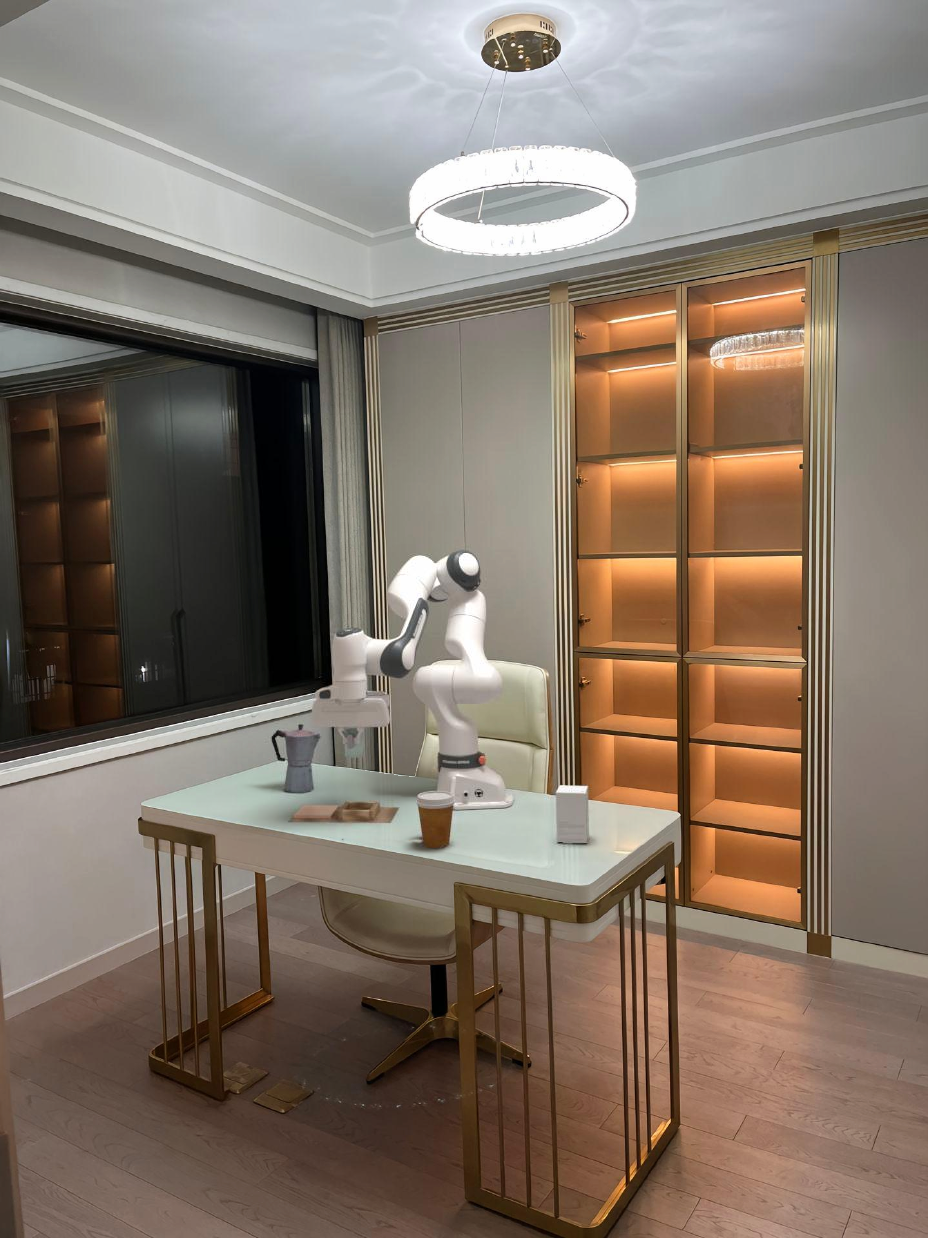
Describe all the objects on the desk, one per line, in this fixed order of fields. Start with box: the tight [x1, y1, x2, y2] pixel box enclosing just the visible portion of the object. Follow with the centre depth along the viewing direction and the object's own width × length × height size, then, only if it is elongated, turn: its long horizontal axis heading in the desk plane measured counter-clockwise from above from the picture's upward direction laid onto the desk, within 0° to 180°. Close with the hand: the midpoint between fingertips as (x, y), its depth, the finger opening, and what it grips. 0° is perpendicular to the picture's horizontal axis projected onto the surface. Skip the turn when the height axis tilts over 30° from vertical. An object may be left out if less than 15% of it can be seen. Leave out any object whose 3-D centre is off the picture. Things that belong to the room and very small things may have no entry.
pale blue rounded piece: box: [344, 727, 365, 759], centre depth 246 cm, size 8×5×8 cm, turn 175°
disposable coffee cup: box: [415, 790, 455, 849], centre depth 227 cm, size 10×10×12 cm
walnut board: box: [288, 801, 400, 824], centre depth 251 cm, size 27×15×4 cm, turn 85°
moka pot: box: [271, 723, 323, 794], centre depth 282 cm, size 10×15×20 cm, turn 89°
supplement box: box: [555, 784, 590, 844], centre depth 229 cm, size 7×7×13 cm
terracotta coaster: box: [293, 804, 340, 818], centre depth 253 cm, size 10×10×1 cm
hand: (351, 743), depth 245 cm, fingers closed on pale blue rounded piece
